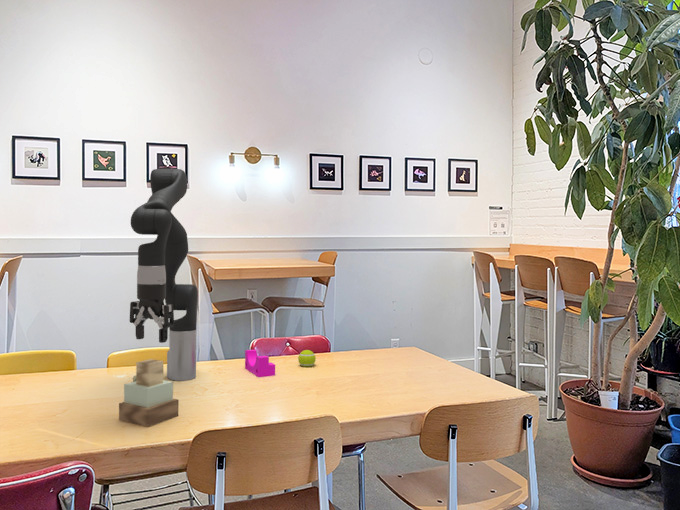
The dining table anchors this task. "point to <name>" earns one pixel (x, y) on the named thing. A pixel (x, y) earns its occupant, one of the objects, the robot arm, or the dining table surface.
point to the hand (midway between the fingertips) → (151, 340)
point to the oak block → (149, 372)
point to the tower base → (148, 413)
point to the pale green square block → (148, 394)
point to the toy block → (258, 364)
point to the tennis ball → (306, 358)
